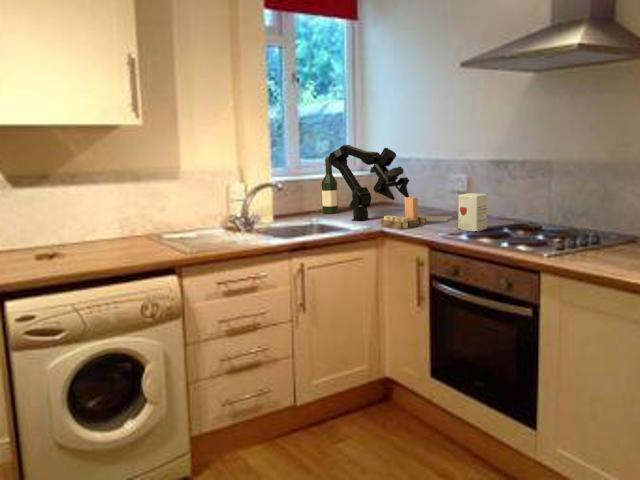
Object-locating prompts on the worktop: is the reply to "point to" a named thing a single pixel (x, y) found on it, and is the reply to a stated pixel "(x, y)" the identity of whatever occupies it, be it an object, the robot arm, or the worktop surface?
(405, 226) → the oak offcut
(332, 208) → the wine bottle
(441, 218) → the slate tile
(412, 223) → the walnut rack
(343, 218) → the worktop surface
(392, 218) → the ash offcut
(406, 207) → the orange rectangular block
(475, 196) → the supplement box
